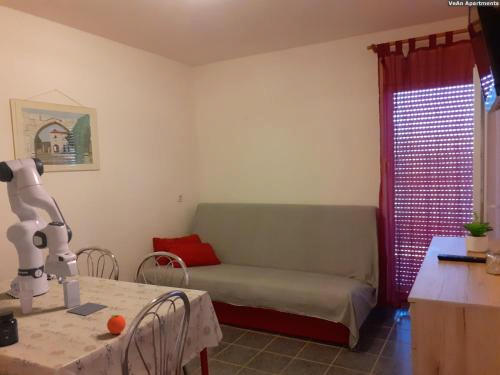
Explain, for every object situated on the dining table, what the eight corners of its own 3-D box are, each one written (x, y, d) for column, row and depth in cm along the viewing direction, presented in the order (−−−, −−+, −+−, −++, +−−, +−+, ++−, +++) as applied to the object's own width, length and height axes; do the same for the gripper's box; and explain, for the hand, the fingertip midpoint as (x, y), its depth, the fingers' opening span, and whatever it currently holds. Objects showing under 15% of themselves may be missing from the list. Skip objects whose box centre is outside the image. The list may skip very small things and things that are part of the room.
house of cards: (62, 275, 242) (61, 263, 242) (53, 279, 234) (52, 267, 233) (49, 275, 244) (48, 263, 243) (40, 279, 235) (39, 267, 235)
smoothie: (38, 310, 181) (36, 280, 180) (26, 315, 175) (24, 285, 174) (28, 309, 183) (25, 280, 182) (15, 314, 177) (13, 284, 176)
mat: (66, 311, 178) (66, 310, 178) (89, 303, 188) (88, 302, 188) (85, 316, 171) (85, 315, 171) (107, 306, 182) (107, 305, 182)
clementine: (103, 332, 153) (102, 314, 152) (120, 327, 158) (118, 309, 157) (112, 338, 147) (111, 320, 147) (129, 332, 152) (128, 314, 152)
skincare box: (76, 303, 189) (75, 278, 188) (81, 305, 186) (79, 280, 185) (63, 307, 184) (62, 282, 183) (68, 309, 181) (66, 283, 180)
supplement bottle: (-6, 350, 142) (-8, 317, 141) (1, 342, 148) (-2, 311, 148) (15, 346, 144) (13, 315, 143) (21, 339, 150) (18, 308, 150)
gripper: (40, 255, 189) (42, 283, 190) (66, 258, 179) (69, 288, 180) (52, 253, 195) (54, 280, 195) (78, 255, 184) (81, 284, 185)
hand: (62, 284), depth 187 cm, fingers closed
